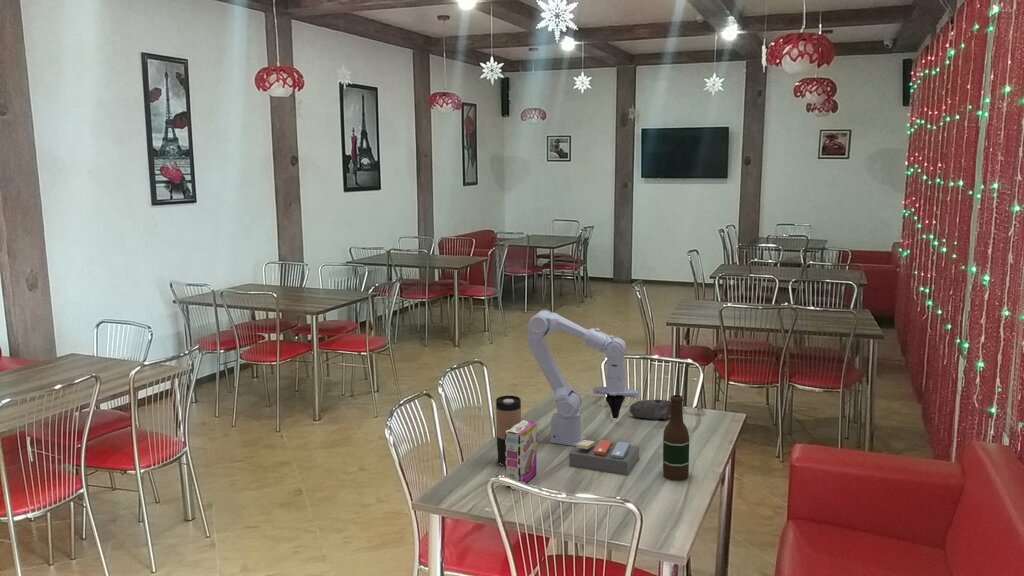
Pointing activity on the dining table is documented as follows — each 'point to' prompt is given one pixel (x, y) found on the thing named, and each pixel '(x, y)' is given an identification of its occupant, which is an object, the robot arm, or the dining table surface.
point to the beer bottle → (676, 443)
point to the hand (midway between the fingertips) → (615, 417)
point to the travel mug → (506, 420)
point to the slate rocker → (620, 450)
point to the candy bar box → (521, 451)
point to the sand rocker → (585, 444)
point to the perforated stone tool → (651, 409)
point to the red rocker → (602, 447)
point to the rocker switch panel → (604, 459)
